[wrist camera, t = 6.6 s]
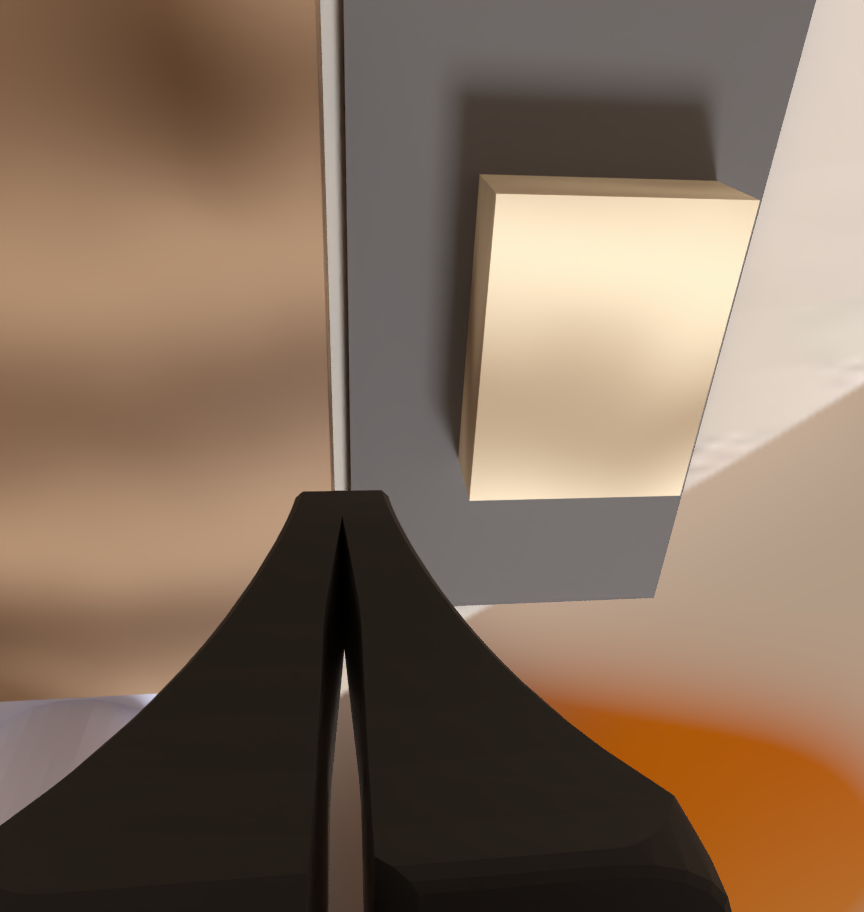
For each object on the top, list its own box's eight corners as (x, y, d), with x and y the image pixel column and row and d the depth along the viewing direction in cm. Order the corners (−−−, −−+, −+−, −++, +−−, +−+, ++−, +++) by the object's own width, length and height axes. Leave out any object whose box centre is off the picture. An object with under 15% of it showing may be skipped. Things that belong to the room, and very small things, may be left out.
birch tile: (469, 500, 20) (457, 458, 21) (680, 495, 20) (651, 455, 22) (496, 193, 15) (479, 174, 17) (760, 200, 16) (716, 180, 18)
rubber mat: (649, 590, 26) (653, 597, 25) (352, 601, 25) (352, 610, 24) (809, -12, 16) (819, -12, 16) (342, -41, 15) (342, -42, 15)
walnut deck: (337, 602, 24) (337, 684, 21) (24, 615, 23) (-21, 702, 20) (318, -42, 15) (313, -56, 12) (-205, -74, 14) (-352, -98, 11)
